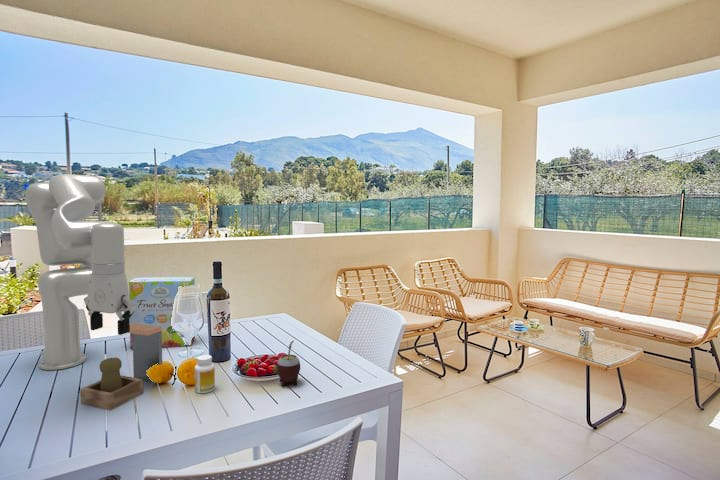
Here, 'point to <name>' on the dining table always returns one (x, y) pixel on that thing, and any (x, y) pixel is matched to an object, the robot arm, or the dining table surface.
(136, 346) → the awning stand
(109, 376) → the cork
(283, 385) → the mate gourd
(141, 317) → the snack box
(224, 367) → the dining table surface
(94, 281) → the robot arm
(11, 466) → the dining table surface
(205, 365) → the supplement bottle
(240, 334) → the dining table surface
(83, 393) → the socket block
